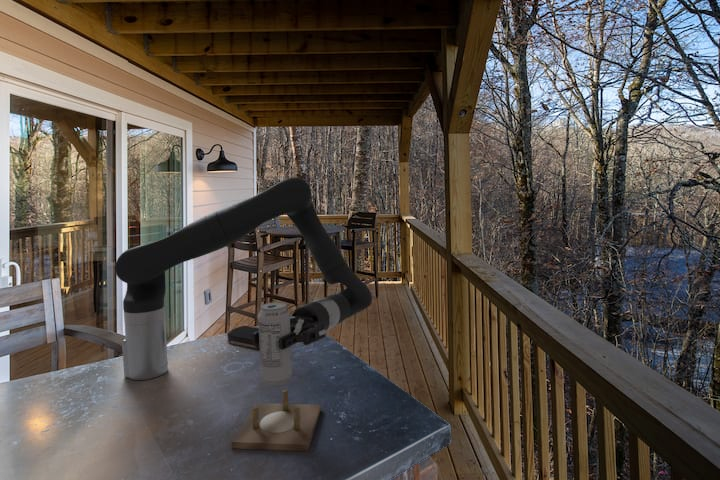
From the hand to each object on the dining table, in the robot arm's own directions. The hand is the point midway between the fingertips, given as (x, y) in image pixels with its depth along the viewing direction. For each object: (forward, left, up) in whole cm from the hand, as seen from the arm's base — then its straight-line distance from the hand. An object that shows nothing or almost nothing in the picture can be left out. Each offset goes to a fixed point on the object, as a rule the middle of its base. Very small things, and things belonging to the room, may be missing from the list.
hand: (267, 341), depth 77 cm
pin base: (+2, +1, -18) cm, 18 cm away
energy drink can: (+1, +2, -9) cm, 9 cm away
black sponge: (-20, +48, -18) cm, 55 cm away
